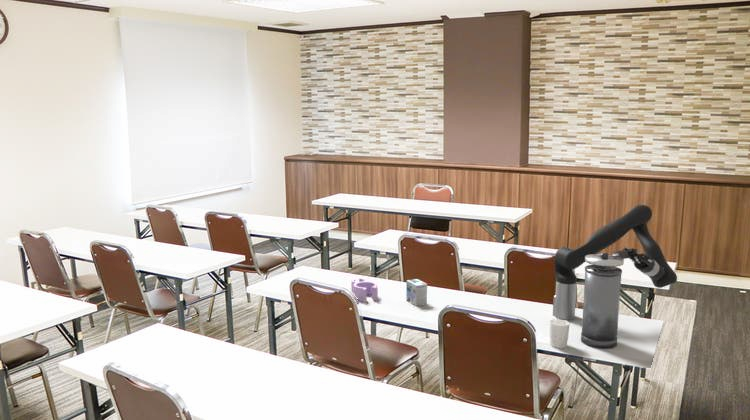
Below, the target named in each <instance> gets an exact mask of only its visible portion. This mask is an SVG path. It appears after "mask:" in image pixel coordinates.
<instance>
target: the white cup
mask: <svg viewBox="0 0 750 420" xmlns="http://www.w3.org/2000/svg"><path fill="white" fill-rule="evenodd" d="M569 333H570V321H568V320H565V319H559V318H557V319H556V318H553V319H551V320H550V321H549V341H550V342H549V344H550V346H551V347H552V348H555V349H565V348H567V347H568V340H569Z"/></svg>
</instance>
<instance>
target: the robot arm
mask: <svg viewBox="0 0 750 420" xmlns="http://www.w3.org/2000/svg"><path fill="white" fill-rule="evenodd" d="M652 217H653V210H652V209H651V208H650V207H649V206H648V205H646V204H645V205H644V204H637V205H636V206H634V207H633V208H632V209H630V210H629V211H628V212H626V213H625V214H624V215H622V216H620V217H619V218H617V219H614V220H612V221H610V222H608V223H607V224H605V225H603V226H602V227H600V228H598V229H597V230H595V231H594V232H593V233H592V234H591V235H590V236H589V238H588V240H587V242H585V243H584V244H583V245H581V246H579V247H577V248H575V249H572V248H570V247H566V246H563V247H559V249H558V250H557V251H556V252H555V256H554V276H555V295H553V301H552V302H553V303H552V315H553V316H554V317H555V318H557V319H560V320H565V321H568V320H570V321H571V320H574V319H576V302H577V301H576V300H577V283H578V280H577V279H578V278H577V275H576V274H575V273H574V271H573V270H575V269H578V268H579V267H581V266H582V265H583V264H584V263H586V262H585V256H587V255H591V254H600V253H601V252H602V251H603V250H605V249H607V248H609V247H611V246H612V245H613V244H615V243H616V242H618V241H620V240H621V239H622V238H623V237H624V236H625V235H627V233H629V232H630V231H631V230H632V231H633V233H634V234H635V236H636V238H637V240H638V241H639V242H640V244H641V246H642V249H643V251H644V253H641V252H638V251H637V252H636V251H634V250H633V249H634V248H633V249H631V248H629V249H630V252H629V254H631V255H632V256H633V257H631V258H628V259H629V260H630V261H631V262H632V263H633V264H634V265H633V266H634V267H635V268H636V269H637V271H639V272H641V273H642V274H644V275H646V276H647V277H649V278H650V280H651V282H652V284H653V286H654V287H655V288H659V289H660V288H665V287H667V286H671V285H673V284H675V283H676V282H677V281H678V276H677V274H676V272H675V271H674V270H673V268H672V267H671V266H670V265H669V263H668V262H667V259H666V258H665V255H664V253H663V251H662V248H661V247H660V245H659V244H658V242H657V241H656V240H655V239H654V238H653V237H652V235H651V234H650V231H649V228H648V223H649V222H650V221H651V219H652ZM626 249H628V248H627V247H623V248H622V250H626Z"/></svg>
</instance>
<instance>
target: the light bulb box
mask: <svg viewBox="0 0 750 420" xmlns="http://www.w3.org/2000/svg"><path fill="white" fill-rule="evenodd" d="M405 294H406V297H405V298H406V301H407V300H408V302H409V303H410V302H411V303H410V304H412V305H413V306H415V305H418V306H423V304H425V305H427V304H428V300H427V299H428V296H427V295H428V283H426V282H424V281H422V280H420V279H418V278H415V279H414V278H413V279H407V280H406V293H405Z"/></svg>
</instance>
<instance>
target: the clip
mask: <svg viewBox="0 0 750 420" xmlns="http://www.w3.org/2000/svg"><path fill="white" fill-rule="evenodd" d="M350 283H351V286H350V287H351V288H350V289H351V291H352V292H353V293H354V294H355V296H356V297H357V298H358V300H357V301H359V300H363V301H364V302H363V301H362V302H363V303H366V302H367V297H368V294H372V295H371V300H372V299H374V300H373V301H376V300H377V301H378V300H379V299H378V298H379V297H378V293H379V292H378V284H377V283H376V282H373V281H369V280H367V279H366V278H363V277H362V278H358V281H356V279H355V278H352V279H351V281H350ZM351 291H350V292H351ZM354 294H353V295H354Z"/></svg>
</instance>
